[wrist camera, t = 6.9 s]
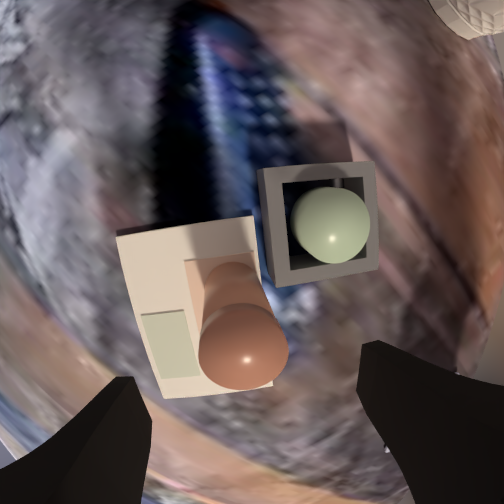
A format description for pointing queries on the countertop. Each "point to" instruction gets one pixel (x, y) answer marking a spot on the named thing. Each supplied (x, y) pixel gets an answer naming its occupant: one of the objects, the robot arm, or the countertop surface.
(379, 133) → the countertop surface
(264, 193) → the button housing
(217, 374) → the brown round-topped peg
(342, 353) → the countertop surface
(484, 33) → the white cup
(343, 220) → the button
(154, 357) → the sheet
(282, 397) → the countertop surface
